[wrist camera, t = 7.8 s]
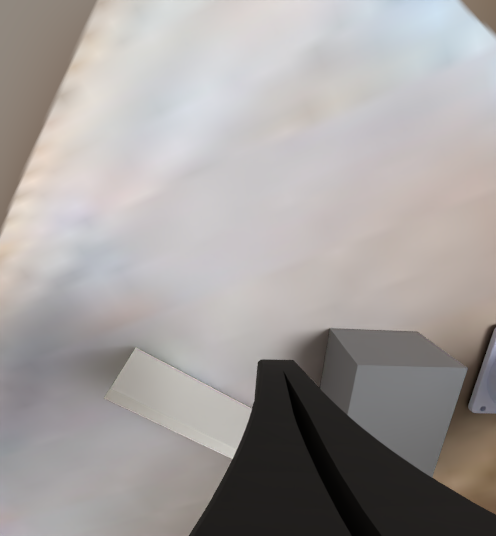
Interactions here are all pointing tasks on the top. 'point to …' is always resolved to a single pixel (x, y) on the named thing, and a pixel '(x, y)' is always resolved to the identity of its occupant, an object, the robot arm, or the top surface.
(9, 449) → the top surface
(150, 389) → the door
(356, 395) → the block
